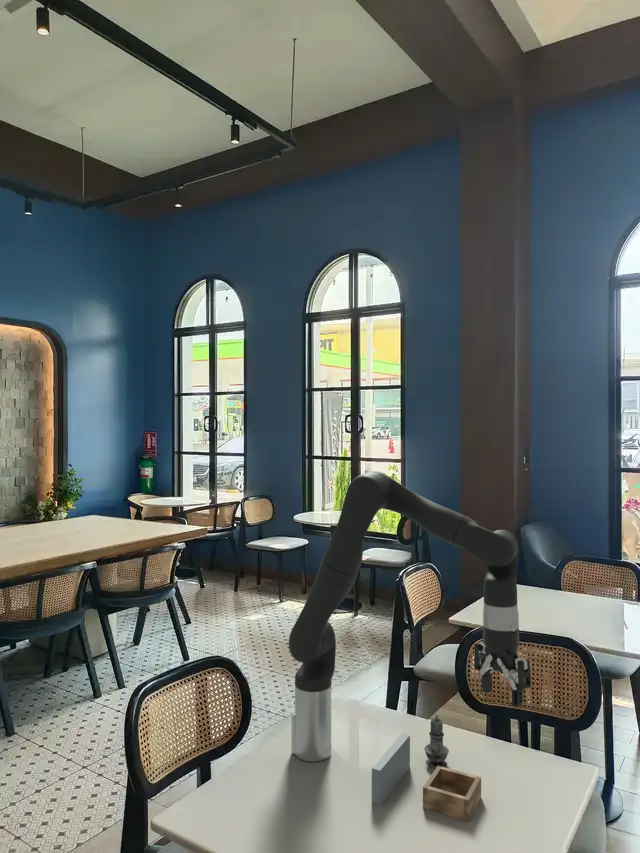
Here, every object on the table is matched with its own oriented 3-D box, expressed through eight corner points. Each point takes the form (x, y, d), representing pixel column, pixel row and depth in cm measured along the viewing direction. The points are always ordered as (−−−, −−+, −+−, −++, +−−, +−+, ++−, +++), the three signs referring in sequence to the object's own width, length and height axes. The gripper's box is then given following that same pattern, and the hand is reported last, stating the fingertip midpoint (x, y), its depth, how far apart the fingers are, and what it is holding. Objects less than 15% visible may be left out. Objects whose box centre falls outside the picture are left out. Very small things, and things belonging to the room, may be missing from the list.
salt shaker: (448, 771, 154) (448, 721, 154) (423, 769, 155) (423, 719, 155) (448, 759, 159) (448, 711, 159) (424, 756, 161) (424, 708, 160)
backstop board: (371, 804, 140) (371, 768, 140) (402, 766, 156) (402, 733, 156) (380, 807, 139) (380, 770, 139) (409, 768, 155) (409, 735, 155)
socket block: (422, 808, 139) (422, 787, 139) (437, 785, 148) (437, 765, 148) (468, 821, 134) (468, 800, 134) (481, 797, 143) (481, 777, 143)
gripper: (464, 618, 143) (465, 691, 143) (513, 636, 131) (514, 715, 131) (489, 613, 147) (490, 684, 147) (538, 629, 135) (540, 707, 135)
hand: (501, 698), depth 139 cm, fingers open, 8 cm apart
